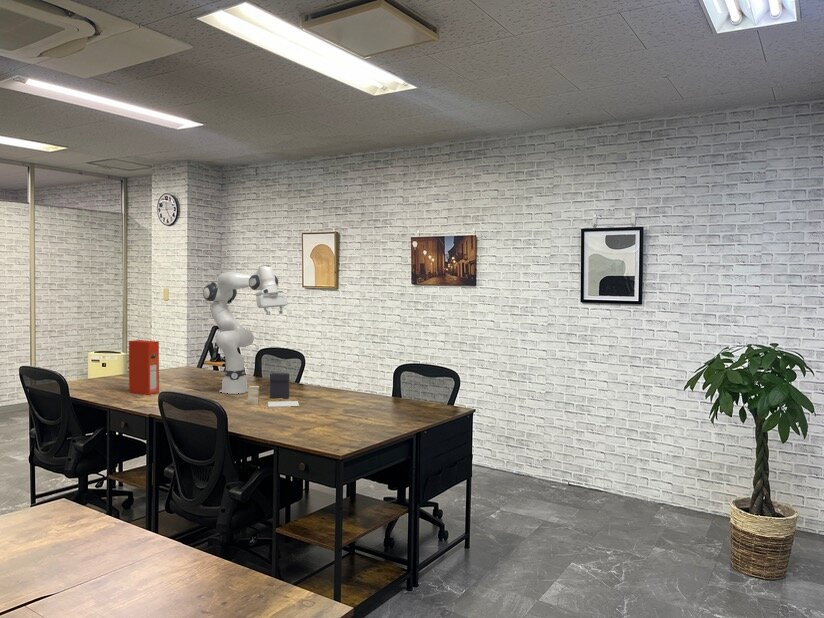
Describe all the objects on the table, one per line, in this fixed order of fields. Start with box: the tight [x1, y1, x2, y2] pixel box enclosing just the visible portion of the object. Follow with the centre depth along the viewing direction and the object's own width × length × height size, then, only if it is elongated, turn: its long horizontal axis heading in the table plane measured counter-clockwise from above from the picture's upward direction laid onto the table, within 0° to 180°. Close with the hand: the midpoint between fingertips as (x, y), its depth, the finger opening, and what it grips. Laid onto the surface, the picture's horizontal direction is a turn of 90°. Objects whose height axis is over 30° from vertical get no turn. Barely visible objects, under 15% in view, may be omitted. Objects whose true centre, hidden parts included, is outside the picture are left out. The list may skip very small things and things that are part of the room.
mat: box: [267, 400, 300, 408], centre depth 364 cm, size 14×17×1 cm
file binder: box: [128, 339, 160, 396], centre depth 391 cm, size 8×17×32 cm, turn 62°
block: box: [247, 385, 260, 406], centre depth 363 cm, size 5×6×10 cm
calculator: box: [269, 372, 290, 400], centre depth 382 cm, size 11×4×15 cm, turn 84°
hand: (275, 314), depth 375 cm, fingers open, 8 cm apart
